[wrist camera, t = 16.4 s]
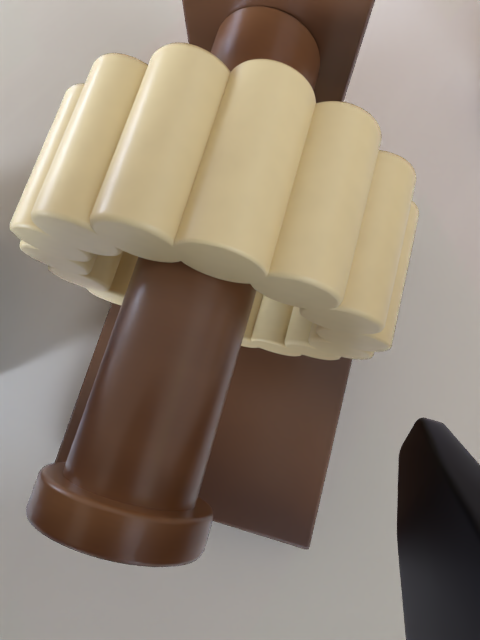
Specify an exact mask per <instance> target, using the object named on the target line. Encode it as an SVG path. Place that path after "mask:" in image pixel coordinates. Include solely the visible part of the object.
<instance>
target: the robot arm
mask: <svg viewBox="0 0 480 640" xmlns="http://www.w3.org/2000/svg"><path fill="white" fill-rule="evenodd" d="M397 541H398V555H399V566H400V577H401V588H402V600H403V611H404V622H405V633H406V640H480V465H479V464H478V463H477V461H476V460H475V459H474V458H473V457H472V456H471V455H470V453H469V452H468V451H467V450H466V449H465V448H464V446H463V445H462V444H461V443H460V442H459V441H458V440H457V438H456V437H455V436H454V435H453V434H452V433H451V431H450V430H449V429H448V428H447V427H446V426H445V425H444V424H443V423H441V422H438V421H434V420H431V419H427V418H419V419H418V420H417V421H416V422H415V424H414V426H413V428H412V429H411V431H410V433H409V434H408V436H407V438H406V440H405V441H404V443H403V445H402V447H401V450H400V453H399V470H398V507H397Z"/></svg>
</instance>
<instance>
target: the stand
mask: <svg viewBox="0 0 480 640" xmlns="http://www.w3.org/2000/svg"><path fill="white" fill-rule="evenodd" d="M182 2H183V9H184V16H185V22H186V29H187V35H188V42H189V44H192V45H195V46H198V47H201V48H203V49H205V50H207V51H208V52H210V53H212V54H213V55H215V56H216V57H217V58H218V59H220V60H221V61H222V62H223V63H224V64H225V65H226V66H227V68H228V69H229V70H230V72H231V71H232V70H233V69H234V68H235V67H236V66H238V65H239V64H241V63H243V62H245V61H248V60H253V59H270V60H275V61H279V62H281V63H284V64H286V65H288V66H290V67H292V68H294V69H295V70H297V71H298V72H299V73H300V74H302V75H303V76H304V77H305V78H306V79H307V81H308V82H309V83H310V85H311V87H312V89H313V91H314V94H315V99H316V103H320V102H325V101H340V102H343V101H344V98H345V95H346V92H347V88H348V85H349V82H350V79H351V76H352V72H353V69H354V66H355V63H356V60H357V56H358V53H359V50H360V47H361V44H362V40H363V37H364V34H365V31H366V28H367V24H368V21H369V18H370V15H371V12H372V8H373V5H374V2H375V0H182ZM256 291H257V290H255V289H254V288H253V287H252V286H251V284H246V283H236V282H230V281H225V280H221V279H218V278H215V277H212V276H209V275H206V274H204V273H201V272H199V271H197V270H195V269H193V268H191V267H189V266H188V265H186V264H184V263H183V262H182V261H179V262H173V263H168V262H158V261H152V260H148V259H145V258H141V257H138V259H137V262H136V265H135V268H134V271H133V274H132V276H131V279H130V282H129V285H128V288H127V291H126V293H125V296H124V299H123V302H122V305H118V304H115V303H112V304H111V306H110V309H109V312H108V315H107V318H106V320H105V323H104V326H103V329H102V332H101V334H100V337H99V340H98V343H97V346H96V348H95V351H94V354H93V357H92V360H91V362H90V365H89V368H88V371H87V374H86V376H85V379H84V382H83V385H82V388H81V390H80V393H79V396H78V399H77V402H76V404H75V407H74V410H73V413H72V416H71V418H70V421H69V424H68V427H67V430H66V432H65V435H64V438H63V441H62V444H61V446H60V449H59V452H58V455H57V458H56V460H55V463H52V464H48V465H46V466H44V467H43V468H42V469H41V470H40V472H39V473H38V476H37V479H36V482H35V484H34V487H33V490H32V493H31V496H30V498H29V501H28V504H27V507H26V515H27V518H28V520H29V522H30V523H31V524H32V525H33V526H34V527H35V529H37V530H38V531H39V532H41V533H42V534H43V535H45V536H47V537H48V538H50V539H51V540H53V541H55V542H57V543H59V544H61V545H63V546H66V547H68V548H70V549H73V550H75V551H78V552H81V553H84V554H87V555H90V556H93V557H96V558H100V559H104V560H108V561H112V562H117V563H123V564H129V565H137V566H148V567H171V566H180V565H185V564H188V563H191V562H193V561H195V560H197V559H198V558H199V557H200V556H201V555H202V553H203V552H204V550H205V546H206V542H207V539H208V535H209V531H210V528H211V524H212V521H215V522H218V523H222V524H225V525H228V526H231V527H235V528H238V529H241V530H244V531H248V532H251V533H254V534H257V535H261V536H264V537H267V538H270V539H274V540H277V541H280V542H283V543H287V544H290V545H293V546H296V547H299V548H303V549H309V547H310V542H311V538H312V534H313V529H314V525H315V520H316V516H317V512H318V507H319V503H320V498H321V494H322V490H323V485H324V481H325V476H326V472H327V468H328V463H329V459H330V454H331V450H332V446H333V441H334V437H335V432H336V428H337V424H338V419H339V415H340V410H341V406H342V402H343V397H344V393H345V388H346V384H347V380H348V375H349V371H350V366H351V362H352V359H350V358H344V357H341V358H340V359H338V360H323V359H317V358H313V357H309V356H306V355H301V356H287V355H282V354H278V353H274V352H270V351H267V350H264V349H262V348H259V347H258V348H250V347H244V346H241V344H242V340H243V337H244V333H245V330H246V326H247V323H248V319H249V316H250V312H251V309H252V305H253V302H254V298H255V295H256Z"/></svg>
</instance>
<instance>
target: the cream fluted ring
mask: <svg viewBox="0 0 480 640" xmlns="http://www.w3.org/2000/svg"><path fill="white" fill-rule="evenodd" d="M380 144H381V131H380V127H379V125H378V123H377V121H376V120H375V119H374V118H373V116H372V115H370V114H369V113H368V112H367V111H365V110H364V109H362V108H360V107H358V106H355V105H353V104H350V103H346V102H340V101H325V102H320V103H316V99H315V94H314V91H313V89H312V87H311V85H310V83H309V82H308V81H307V79H306V78H305V77H304V76H303V75H302V74H300V73H299V72H298V71H297V70H295V69H294V68H292V67H290V66H288V65H286V64H284V63H281V62H279V61H275V60H270V59H253V60H248V61H245V62H243V63H241V64H239V65H238V66H236V67H235V68H234V69H233V70H232V71H231V72H230V70H229V69H228V68H227V66H226V65H225V64H224V63H223V62H222V61H221V60H220V59H218V58H217V57H216V56H215V55H213V54H212V53H210V52H208V51H207V50H205V49H203V48H201V47H198V46H195V45H192V44H188V43H170V44H166V45H164V46H162V47H161V48H159V49H158V50H157V51H156V52H155V53H154V54H153V55H152V57H151V59H150V62H149V64H148V65H147V64H146V63H144V62H142V61H141V60H139V59H136V58H134V57H131V56H129V55H125V54H120V53H108V54H104V55H102V56H100V57H99V58H98V59H96V60H95V62H94V63H93V65H92V68H91V70H90V73H89V75H88V77H87V80H86V82H85V83H79V84H75V85H72V86H71V87H70V88H68V89H67V91H66V93H65V95H64V98H63V100H62V102H61V105H60V107H59V110H58V112H57V114H56V117H55V119H54V121H53V124H52V126H51V128H50V131H49V133H48V135H47V138H46V140H45V142H44V145H43V147H42V149H41V152H40V154H39V156H38V159H37V161H36V163H35V166H34V168H33V171H32V173H31V175H30V178H29V180H28V182H27V185H26V187H25V189H24V192H23V194H22V196H21V199H20V201H19V203H18V206H17V208H16V210H15V213H14V215H13V217H12V220H11V222H10V230H11V232H12V233H13V234H15V235H16V236H17V237H18V238H20V239H21V241H20V249H21V250H22V251H23V252H24V253H25V254H27V255H28V256H30V257H31V258H33V259H35V260H37V261H39V262H41V263H44V264H46V265H48V269H49V271H50V272H52V273H53V274H54V275H56V276H58V277H59V278H61V279H64V280H66V281H68V282H71V283H73V284H76V285H79V286H82V287H85V288H87V290H88V291H89V292H90V293H92V294H93V295H95V296H97V297H99V298H101V299H104V300H106V301H109V302H112V303H115V304H118V305H122V302H123V299H124V296H125V293H126V291H127V288H128V285H129V282H130V279H131V276H132V274H133V271H134V268H135V265H136V262H137V259H138V257H141V258H145V259H148V260H152V261H158V262H168V263H173V262H179V261H182V262H183V263H184V264H186V265H188V266H189V267H191V268H193V269H195V270H197V271H199V272H201V273H204V274H206V275H209V276H212V277H215V278H218V279H221V280H225V281H230V282H236V283H246V284H251V286H252V287H253V288H254V289H255V290H257V291H256V295H255V298H254V302H253V305H252V309H251V312H250V316H249V319H248V323H247V326H246V330H245V333H244V337H243V340H242V344H241V346H244V347H250V348H258V347H259V348H262V349H264V350H267V351H270V352H274V353H278V354H282V355H287V356H301V355H306V356H309V357H313V358H317V359H323V360H338V359H340V358H341V357H344V358H350V359H360V360H363V359H370V358H372V356H373V355H374V352H382V351H387V350H389V349H390V348H391V346H392V341H393V336H394V332H395V327H396V322H397V317H398V312H399V308H400V303H401V298H402V293H403V289H404V284H405V279H406V274H407V269H408V265H409V260H410V255H411V250H412V245H413V241H414V236H415V231H416V226H417V222H418V217H419V211H418V208H417V206H416V204H415V203H414V202H413V201H412V198H413V193H414V188H415V184H416V174H415V171H414V168H413V167H412V165H411V164H410V163H409V162H408V161H407V160H405V159H404V158H402V157H400V156H398V155H396V154H393V153H390V152H387V151H382V150H379V148H380Z"/></svg>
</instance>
